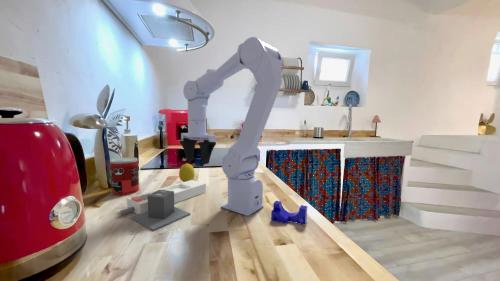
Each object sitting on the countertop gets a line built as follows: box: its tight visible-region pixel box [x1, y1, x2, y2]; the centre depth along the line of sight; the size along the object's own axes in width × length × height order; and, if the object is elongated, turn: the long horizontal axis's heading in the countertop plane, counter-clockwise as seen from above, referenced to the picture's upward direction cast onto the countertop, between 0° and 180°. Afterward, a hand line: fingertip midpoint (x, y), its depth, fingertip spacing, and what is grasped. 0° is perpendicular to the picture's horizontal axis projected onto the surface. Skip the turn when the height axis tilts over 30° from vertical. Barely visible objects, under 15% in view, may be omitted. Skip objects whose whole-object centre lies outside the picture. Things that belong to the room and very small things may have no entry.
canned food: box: [109, 156, 140, 196], centre depth 71 cm, size 8×8×11 cm
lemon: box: [178, 162, 196, 183], centre depth 80 cm, size 6×6×8 cm
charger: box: [148, 189, 175, 219], centre depth 54 cm, size 4×4×6 cm
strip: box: [119, 179, 207, 216], centre depth 64 cm, size 25×7×4 cm, turn 144°
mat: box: [130, 206, 191, 232], centre depth 54 cm, size 10×10×1 cm
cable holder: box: [270, 200, 308, 225], centre depth 52 cm, size 8×4×4 cm, turn 65°
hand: (197, 162), depth 70 cm, fingers open, 7 cm apart
